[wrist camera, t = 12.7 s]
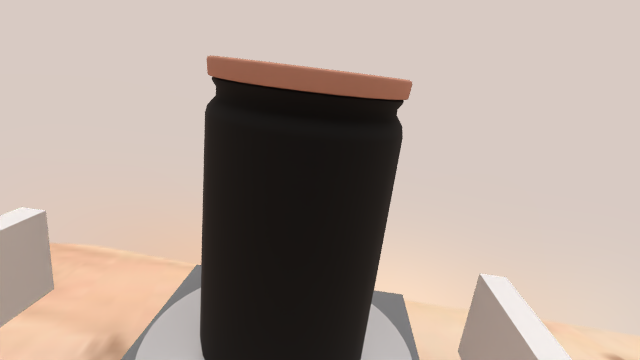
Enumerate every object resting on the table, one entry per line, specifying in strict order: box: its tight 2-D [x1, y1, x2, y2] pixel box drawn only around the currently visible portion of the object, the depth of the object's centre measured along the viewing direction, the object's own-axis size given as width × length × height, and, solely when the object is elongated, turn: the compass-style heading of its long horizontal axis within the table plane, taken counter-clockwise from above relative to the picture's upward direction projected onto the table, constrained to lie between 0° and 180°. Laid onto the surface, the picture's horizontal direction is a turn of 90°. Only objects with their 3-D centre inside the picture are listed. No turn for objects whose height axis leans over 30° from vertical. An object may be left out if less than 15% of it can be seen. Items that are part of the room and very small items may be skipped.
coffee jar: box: [200, 56, 412, 360], centre depth 21 cm, size 11×11×18 cm
